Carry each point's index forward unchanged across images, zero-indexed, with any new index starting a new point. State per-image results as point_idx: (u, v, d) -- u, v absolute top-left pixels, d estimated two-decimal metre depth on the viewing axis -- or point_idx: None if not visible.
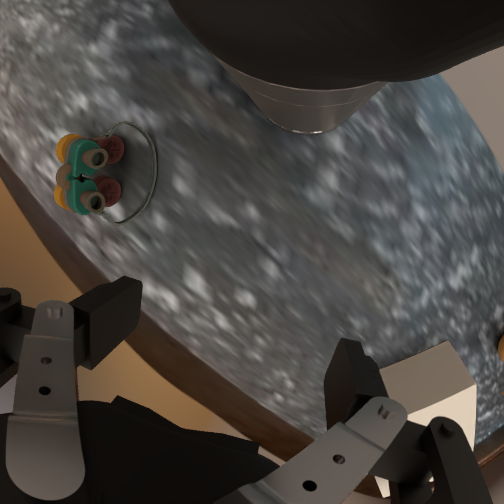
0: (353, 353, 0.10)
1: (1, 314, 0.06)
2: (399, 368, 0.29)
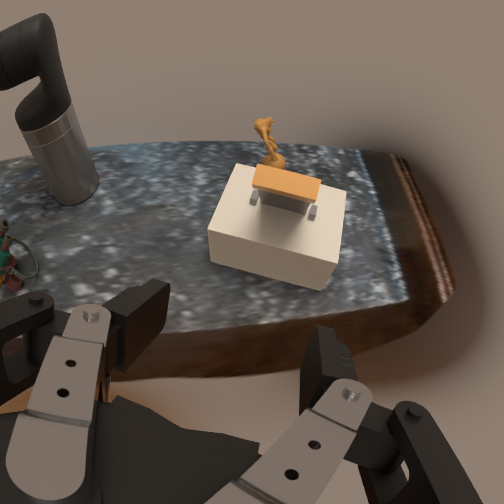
0: (325, 338, 0.10)
1: (29, 319, 0.07)
2: None
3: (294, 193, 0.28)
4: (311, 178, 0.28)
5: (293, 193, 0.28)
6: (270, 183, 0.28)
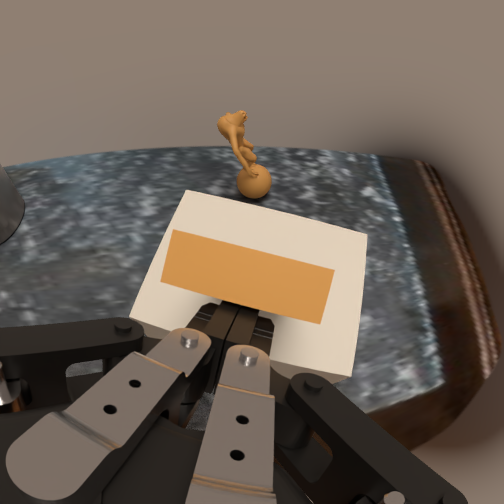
0: (246, 311, 0.11)
1: (106, 347, 0.07)
2: None
3: (264, 308, 0.11)
4: (310, 267, 0.11)
5: (262, 308, 0.11)
6: (204, 282, 0.11)
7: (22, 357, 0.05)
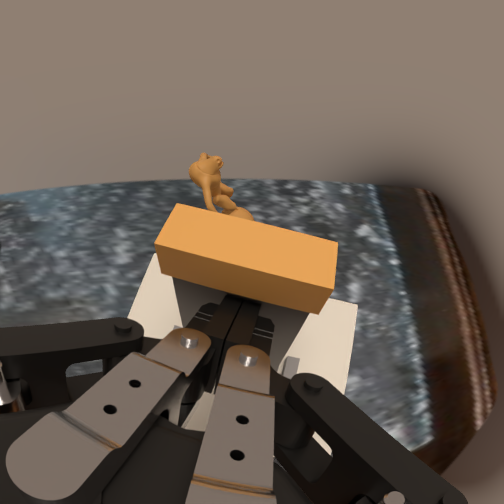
0: (245, 311, 0.11)
1: (106, 347, 0.07)
2: None
3: (271, 271, 0.10)
4: (314, 239, 0.11)
5: (268, 271, 0.10)
6: (204, 245, 0.10)
7: (22, 357, 0.05)
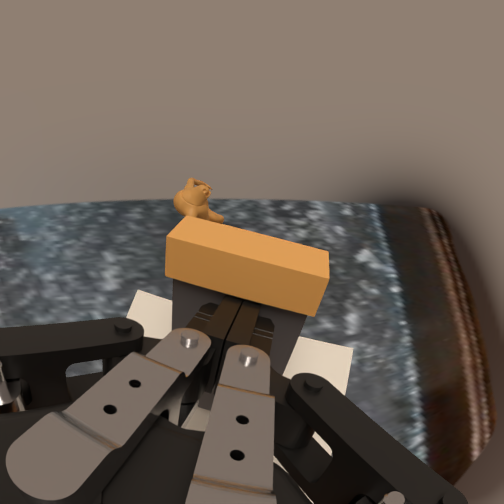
0: (245, 311, 0.11)
1: (106, 347, 0.07)
2: None
3: (273, 262, 0.11)
4: (307, 247, 0.12)
5: (270, 262, 0.11)
6: (212, 241, 0.11)
7: (22, 357, 0.05)
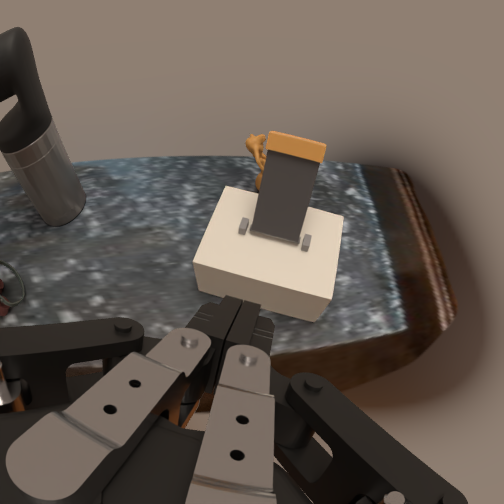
0: (245, 311, 0.11)
1: (106, 347, 0.07)
2: None
3: (306, 141, 0.30)
4: (318, 142, 0.32)
5: (306, 141, 0.30)
6: (285, 135, 0.31)
7: (22, 357, 0.05)
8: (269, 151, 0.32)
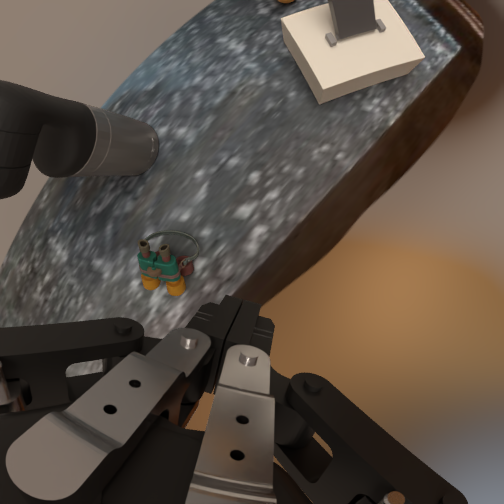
0: (245, 311, 0.11)
1: (106, 347, 0.07)
2: (302, 70, 0.40)
3: None
4: None
5: None
6: None
7: (22, 357, 0.05)
8: None
